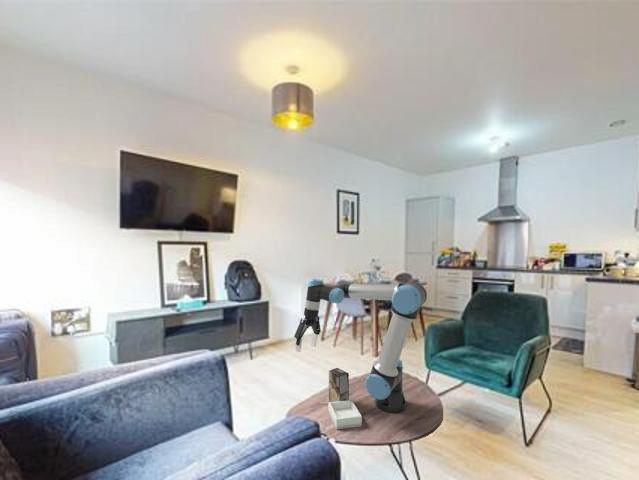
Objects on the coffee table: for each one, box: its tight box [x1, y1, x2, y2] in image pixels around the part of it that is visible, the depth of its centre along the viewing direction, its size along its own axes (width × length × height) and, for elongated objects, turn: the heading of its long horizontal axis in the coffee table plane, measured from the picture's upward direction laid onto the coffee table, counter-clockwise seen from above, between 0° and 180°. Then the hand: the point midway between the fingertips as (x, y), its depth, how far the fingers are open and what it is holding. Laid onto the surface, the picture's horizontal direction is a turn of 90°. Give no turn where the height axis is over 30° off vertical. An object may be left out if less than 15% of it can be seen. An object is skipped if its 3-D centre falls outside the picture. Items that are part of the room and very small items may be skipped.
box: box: [328, 399, 363, 430], centre depth 147 cm, size 12×15×4 cm
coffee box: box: [328, 367, 350, 403], centre depth 161 cm, size 9×6×16 cm
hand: (305, 348), depth 167 cm, fingers open, 13 cm apart
